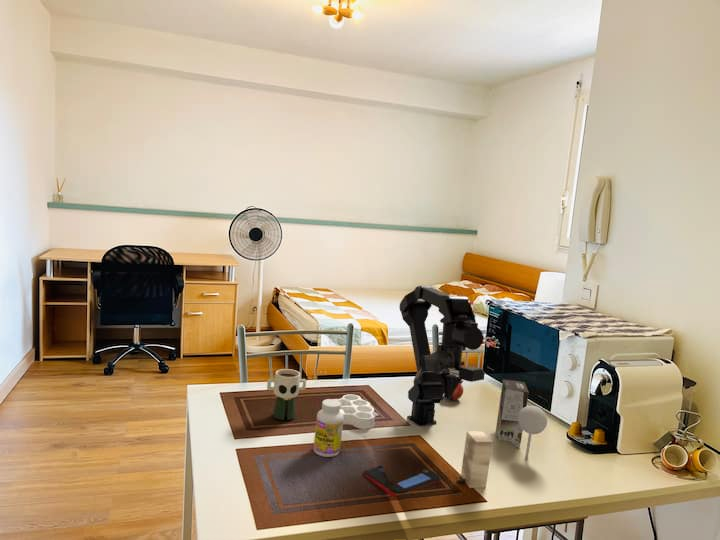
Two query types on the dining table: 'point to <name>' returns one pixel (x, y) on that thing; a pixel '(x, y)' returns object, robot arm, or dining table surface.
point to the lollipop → (532, 422)
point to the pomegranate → (457, 392)
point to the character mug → (286, 392)
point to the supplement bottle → (328, 429)
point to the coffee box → (511, 411)
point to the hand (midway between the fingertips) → (447, 398)
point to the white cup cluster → (357, 411)
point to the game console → (404, 486)
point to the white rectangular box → (476, 459)
